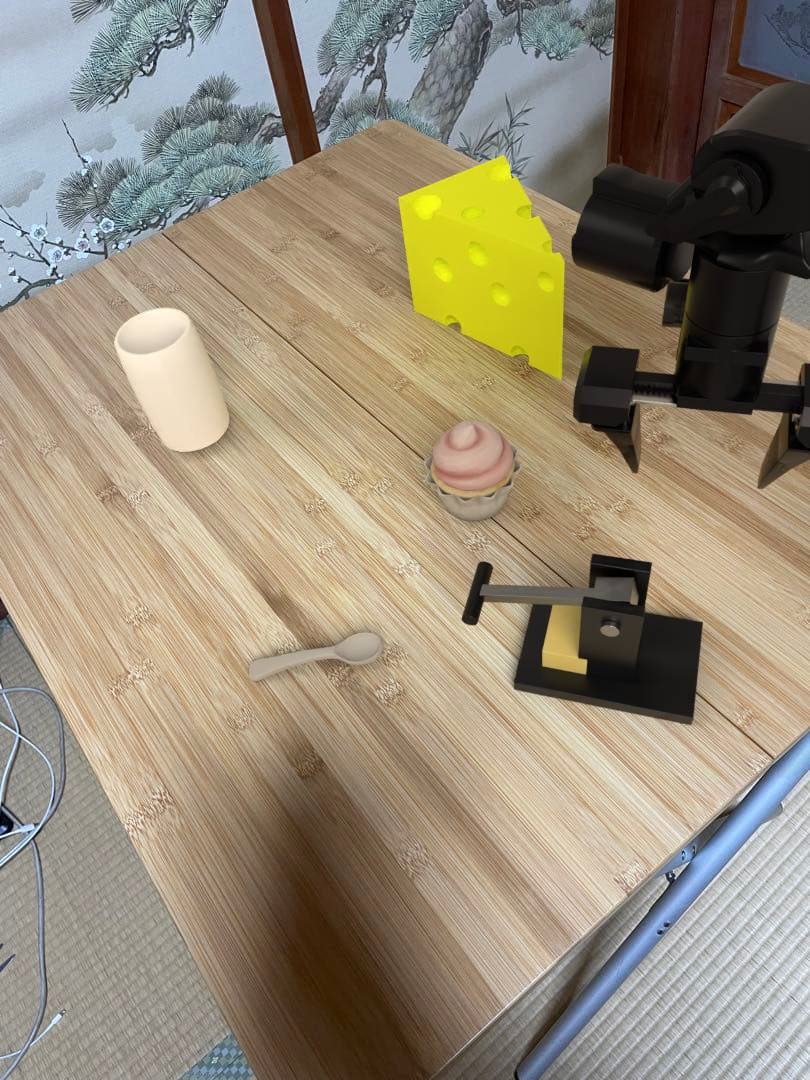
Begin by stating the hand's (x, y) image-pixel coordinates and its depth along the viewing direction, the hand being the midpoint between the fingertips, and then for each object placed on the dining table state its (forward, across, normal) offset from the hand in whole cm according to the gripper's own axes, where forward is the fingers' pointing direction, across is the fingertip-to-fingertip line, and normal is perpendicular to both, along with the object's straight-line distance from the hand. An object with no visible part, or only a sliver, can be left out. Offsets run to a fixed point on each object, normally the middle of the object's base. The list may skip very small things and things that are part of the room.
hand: (696, 476), depth 65 cm
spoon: (+12, +29, +16) cm, 35 cm away
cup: (+12, +52, -8) cm, 54 cm away
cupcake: (+12, +20, -5) cm, 23 cm away
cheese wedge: (+12, +24, -33) cm, 43 cm away
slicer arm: (+5, +9, +10) cm, 15 cm away
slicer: (+12, +4, +10) cm, 17 cm away
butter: (+11, +8, +10) cm, 17 cm away
